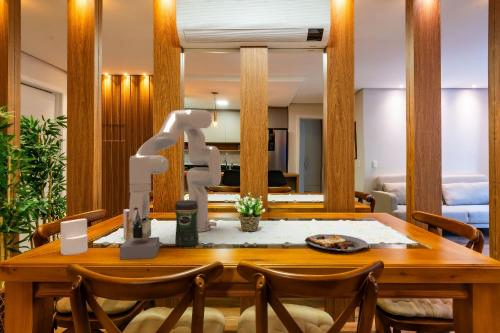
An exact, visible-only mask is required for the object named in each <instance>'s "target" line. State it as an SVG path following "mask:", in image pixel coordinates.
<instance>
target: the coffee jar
mask: <svg viewBox="0 0 500 333" xmlns="http://www.w3.org/2000/svg"><path fill="white" fill-rule="evenodd" d="M197 212H198V204H197V201H194V200H189V199H188V200H185V199H184V200H183V199H182V200H177V201H176V202H175V206H174V213H175V217H176V220H175V222H176V224H175V238H174V244H175V245H176V246H178V247H179V246H180V247H190V246H195V245H198V243H199V241H200V239H199V232H198V229H197Z"/></svg>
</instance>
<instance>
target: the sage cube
mask: <svg viewBox="0 0 500 333" xmlns="http://www.w3.org/2000/svg"><path fill="white" fill-rule="evenodd" d="M138 222H139V221H138ZM141 227H142V238H133V222H132V223H130V240H146V239H148V238H149V237H151V236H152V220H151V219H148V220H142V225H141Z"/></svg>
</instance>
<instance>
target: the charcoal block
mask: <svg viewBox="0 0 500 333" xmlns="http://www.w3.org/2000/svg"><path fill="white" fill-rule="evenodd" d="M160 249H161V248H160V237H159V236H152V237H151V236H150V237H149V238H148V239H146V240H130V238H128V239H127V240H126V239H125V241H124V242H123V243H121V245H120V246H119V260H121V261H122V259H128V260H145V259H147V260H148V259H155V258H156V257H157V255H158V252H159V251H160Z"/></svg>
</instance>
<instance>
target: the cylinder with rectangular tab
mask: <svg viewBox="0 0 500 333" xmlns="http://www.w3.org/2000/svg"><path fill="white" fill-rule="evenodd" d="M87 251H88V219H87V218H78V219H72V220H66V221H60V254H61V255H64V256H73V255H74V256H75V255H79V254H84V253H86V252H87Z"/></svg>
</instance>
